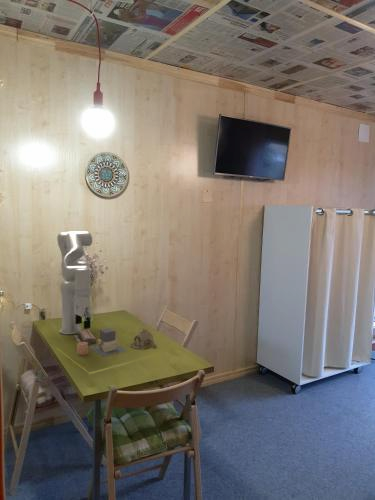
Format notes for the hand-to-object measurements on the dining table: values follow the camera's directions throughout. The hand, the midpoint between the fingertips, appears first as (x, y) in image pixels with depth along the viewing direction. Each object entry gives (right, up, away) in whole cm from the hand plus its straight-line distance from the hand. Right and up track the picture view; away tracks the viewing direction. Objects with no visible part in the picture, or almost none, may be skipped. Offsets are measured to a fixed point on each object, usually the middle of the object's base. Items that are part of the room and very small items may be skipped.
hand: (82, 325), depth 190 cm
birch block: (+11, -14, +9) cm, 20 cm away
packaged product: (-4, -14, +22) cm, 26 cm away
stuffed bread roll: (+29, -15, +16) cm, 36 cm away
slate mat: (+11, -15, +9) cm, 20 cm away
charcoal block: (+11, -9, +8) cm, 16 cm away
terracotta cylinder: (-1, -15, +2) cm, 16 cm away
